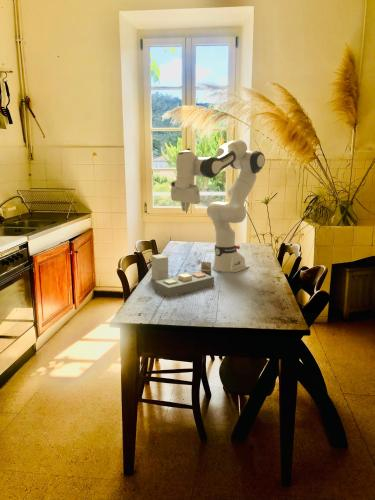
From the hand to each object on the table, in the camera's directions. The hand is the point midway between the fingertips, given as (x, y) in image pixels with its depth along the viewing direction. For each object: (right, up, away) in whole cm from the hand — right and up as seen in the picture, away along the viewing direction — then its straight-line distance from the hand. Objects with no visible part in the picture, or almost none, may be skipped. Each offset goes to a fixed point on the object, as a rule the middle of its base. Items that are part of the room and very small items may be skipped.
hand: (185, 211), depth 200 cm
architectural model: (+12, -34, +20) cm, 41 cm away
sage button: (-7, -39, -8) cm, 40 cm away
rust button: (+7, -36, +2) cm, 37 cm away
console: (0, -39, -3) cm, 39 cm away
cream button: (0, -36, -3) cm, 37 cm away
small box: (-14, -36, +10) cm, 40 cm away
